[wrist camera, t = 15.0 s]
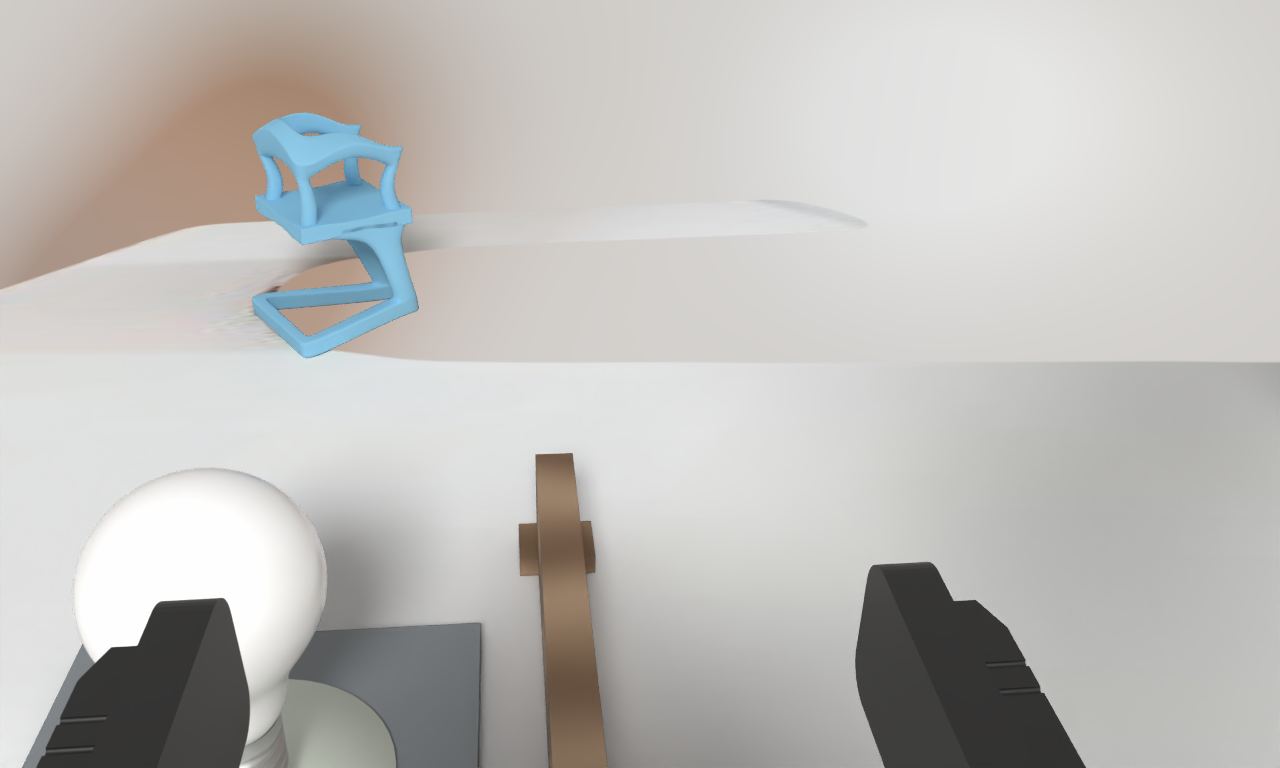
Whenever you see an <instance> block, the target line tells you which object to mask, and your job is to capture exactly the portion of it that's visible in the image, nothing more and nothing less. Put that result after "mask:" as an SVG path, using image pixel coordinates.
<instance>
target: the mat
mask: <svg viewBox="0 0 1280 768" xmlns="http://www.w3.org/2000/svg"><path fill="white" fill-rule="evenodd" d="M480 655H481V624H480V623H466V624H447V625H428V626H409V627H390V628H371V629H352V630H333V631H316V632H315V634H314V636H313V638H312V640H311V641H310V643H309V645H308V647H307V648H306V650H305V651H304V653H303V654H302V656H301V657H300V659H299V660H298V661H297V663H296V664H295V665H294V667H293V668H292V669H291V671H290V673H289V681H288V691H287V697H286V701H285V704H284V707H283V709H282V711H281V713H282V721H283V725H284V732H285V740H286V743H287V750H288V753H289V760H290V768H478V750H479V703H480ZM94 664H95V663H94V661H93V660H92V659H91V657H90V656H89V654H88V652H87V651H86V649H85V647H84V645H83V644H82V646H81V648H80V650H79V652H78V654H77V656H76V658H75V660H74V662H73V665H72V667H71V669H70V671H69V673H68V675H67V677H66V679H65V681H64V683H63V685H62V687H61V689H60V691H59V693H58V695H57V697H56V699H55V701H54V703H53V706H52V708H51V710H50V712H49V714H48V716H47V718H46V720H45V722H44V724H43V726H42V728H41V730H40V732H39V734H38V736H37V738H36V740H35V742H34V744H33V746H32V749H31V751H30V753H29V755H28V757H27V759H26V761H25V763H24V765H23V767H22V768H36V767H37V765H38V763H39V761H40V759H41V756H45V753H46V749H45V748H46V746H47V744H48V742H49V740H50V737H51V735H52V733H53V731H54V729H55V727H56V725H59V724H60V716H61V714H62V712H63V710H64V708H65V706H66V704H67V702H68V700H69V697H70V695H71V693H72V691H73V689H74V687H75V685H76V683H77V681H78V680H79V679H80V678H81V677H82V676H83V675H84V674H85V673H86V672H87V671H88V670H89V669H90V668H91V667H92V666H93V665H94Z"/></svg>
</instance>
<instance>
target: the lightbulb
mask: <svg viewBox="0 0 1280 768" xmlns="http://www.w3.org/2000/svg"><path fill="white" fill-rule="evenodd" d="M327 581H328V577H327V564H326V558H325V553H324V550H323V546H322V543H321V541H320V538H319V536H318V533H317V531H316V529H315V527H314V526H313V524H312V522H311V521H310V519H309V518H308V516H307V515H306V514H305V512H304V511H303V510H302V509H301V507H300V506H299V505H298V504H297V503H296V502H295V501H294V500H293V499H292V498H291V497H289V496H288V495H287V494H286V493H285V492H283V491H282V490H281V489H279V488H278V487H276V486H274V485H273V484H271V483H269V482H267V481H265V480H263V479H261V478H259V477H256V476H254V475H251V474H248V473H244V472H241V471H236V470H231V469H224V468H194V469H186V470H181V471H176V472H173V473H169V474H166V475H163V476H160V477H157V478H155V479H153V480H150V481H148V482H146V483H144V484H142V485H141V486H139V487H137V488H135V489H134V490H132V491H131V492H129V493H128V494H126V495H125V496H124V497H123V498H121V499H120V500H119V501H118V502H116V503H115V504H114V505H113V506H112V507H111V508H110V509H109V510H108V511H107V512H106V513H105V514H104V515H103V517H102V518H101V519H100V520H99V522H98V523H97V524H96V526H95V527H94V528H93V530H92V531H91V533H90V535H89V536H88V538H87V540H86V542H85V544H84V546H83V548H82V551H81V553H80V556H79V559H78V562H77V565H76V569H75V573H74V579H73V587H72V605H73V614H74V619H75V623H76V627H77V630H78V633H79V636H80V638H81V641H82V643H83V645H84V647H85V649H86V651H87V652H88V654H89V656H90V657H91V659H92V660H93V661H94V663H96V662H97V661H98V660H99V659H100V658H101V657H102V656H103V655H104V654H105V653H106V652H107V651H108V650H109V649H110V648H111V647H124V646H137V645H138V643H139V640H140V638H141V636H142V633H143V631H144V629H145V626H146V624H147V622H148V619H149V617H150V615H151V612H152V610H153V608H154V607H155V605H156V604H157V603H158V602H160V601H171V600H190V599H209V598H224V599H225V600H226V601H227V602H228V605H229V607H230V611H231V614H232V619H233V623H234V627H235V632H236V636H237V640H238V644H239V649H240V653H241V657H242V662H243V666H244V670H245V674H246V679H247V683H248V688H249V695H250V721H249V730H248V736H247V741H246V745H245V748H244V752H243V755H242V759H241V763H240V766H239V768H290V760H289V753H288V750H287V743H286V740H285V732H284V725H283V721H282V713H281V711H282V709H283V707H284V704H285V701H286V697H287V691H288V681H289V673H290V671H291V669H292V668H293V667H294V665H295V664H296V663H297V661H298V660H299V659H300V657H301V656H302V654H303V653H304V651H305V650H306V648H307V647H308V645H309V643H310V641H311V640H312V638H313V636H314V634H315V632H316V630H317V627H318V625H319V622H320V620H321V617H322V614H323V610H324V606H325V601H326V595H327Z"/></svg>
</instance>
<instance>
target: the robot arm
mask: <svg viewBox="0 0 1280 768" xmlns="http://www.w3.org/2000/svg"><path fill="white" fill-rule="evenodd" d="M855 667H856V679H857V686H858V691H859V696H860V700H861V703H862V706H863V708H864V711H865V714H866V717H867V719H868V722H869V725H870V728H871V731H872V733H873V736H874V739H875V742H876V744H877V747H878V750H879V753H880V755H881V758H882V761H883V764H884V766H885V768H1086V767H1085V765H1084V764H1083V762H1082V760H1081V758H1080V756H1079V755H1078V753H1077V751H1076V749H1075V747H1074V746H1073V744H1072V742H1071V740H1070V739H1069V737H1068V735H1067V733H1066V731H1065V730H1064V728H1063V726H1062V724H1061V722H1060V721H1059V719H1058V717H1057V715H1056V714H1055V712H1054V710H1053V708H1052V706H1051V705H1050V703H1049V701H1048V699H1047V697H1046V696H1045V694H1044V693H1041V691H1040V685H1039V683H1038V681H1037V680H1036V678H1035V676H1034V674H1033V672H1032V671H1031V669H1030V667H1029V666H1026V664H1025V658H1024V656H1023V655H1022V653H1021V651H1020V649H1019V648H1018V646H1017V644H1016V642H1015V640H1014V639H1013V637H1012V635H1011V633H1010V631H1009V630H1008V628H1007V627H1006V626H1005V625H1004V624H1003V623H1002V622H1000V621H999V620H998V619H997V618H996V617H995V616H993V615H992V614H991V613H990V612H989V611H988V610H987V609H985V608H984V607H983V606H982V605H981V604H980V603H978V602H977V601H976V600H968V601H953V599H952V597H951V595H950V593H949V591H948V589H947V587H946V585H945V583H944V581H943V579H942V578H941V576H940V574H939V572H938V570H937V568H936V567H935V566H934V565H933V564H932V563H930V562H920V563H901V564H883V565H873V566H872V567H871V569H870V570H869V573H868V578H867V584H866V590H865V597H864V603H863V609H862V616H861V622H860V629H859V635H858V641H857V648H856V659H855ZM249 721H250V695H249V688H248V683H247V679H246V674H245V670H244V666H243V662H242V657H241V653H240V649H239V644H238V640H237V636H236V632H235V627H234V623H233V619H232V614H231V611H230V607H229V605H228V602H227V601H226V600H225V599H224V598H209V599H190V600H171V601H160V602H158V603H157V604H156V605H155V607H154V608H153V610H152V612H151V615H150V617H149V619H148V622H147V624H146V626H145V629H144V631H143V633H142V636H141V638H140V640H139V643H138V645H137V646H124V647H111V648H110V649H109V650H108V651H107V652H106V653H105V654H104V655H103V656H102V657H101V658H100V659H99V660H98V661H97V662H96V663H95V664H94V665H93V666H92V667H91V668H90V669H89V670H88V671H87V672H86V673H85V674H84V675H83V676H82V677H81V678H80V679H79V680H78V681H77V683H76V685H75V687H74V689H73V691H72V693H71V695H70V697H69V700H68V702H67V704H66V706H65V708H64V710H63V712H62V714H61V716H60V724H59V725H56V727H55V729H54V731H53V733H52V735H51V737H50V740H49V742H48V744H47V746H46V748H45V749H46V753H45V756H41V759H40V761H39V763H38V765H37V767H36V768H239V766H240V763H241V759H242V755H243V752H244V748H245V745H246V741H247V736H248V730H249Z"/></svg>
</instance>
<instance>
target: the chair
mask: <svg viewBox="0 0 1280 768" xmlns="http://www.w3.org/2000/svg"><path fill="white" fill-rule="evenodd" d="M360 129H361V125H349V124H348V125H347V124H341V123H338V122H335V121H332V120H330V119H328V118H325V117H322V116H319V115H316V114H311V113H296V114H291V115H287V116H284V117H281V118H278V119H275V120H273V121H271V122H269V123H268V124H266V125H264V126H263V127H261V128H260V129H258V130H257V131H256V132H255V133H254V134H253V140H254V143H255V145H256V148H257V151H258V154H259V156H260V159H261V161H262V163H263V165H264V168H265V171H266V174H267V190H266V194H264V195H258V196H255V201H256V208H257V211H258V212H259V213H261V214H262V215H263V216H265V217H266V218H268V219H271V220H273V221H275V222H276V223H277V224H279V225H280V226H281V227H283V228H284V229H285V230H286V231H287V232H288V233H289V234H290V235H291V236H292V237H293V238H294V239H295V240H297V241H298V242H299V243H301V244H302V245H305V244H310V243H315V242H320V241H325V240H328V239H340V240H347V241H348V242H349V243H350V245H351V246H352V248H353V249H354V251H355V252H356V254H357V256H358V257H359V259H360V260H361V262H362V264H363V265H364V267H365V268H366V270H367V272H368V274H369V275H370V277H371V278H372V282H370V283H363V284H354V285H344V286H333V287H323V288H313V289H302V290H291V291H282V292H273V293H267V294H261V295H257V296H254V297H253V298H252V303H253V308H254V312H255V314H256V315H258V316H259V317H260V318H261V319H262V320H263V321H264V322H265V323H266V324H267V325H268V326H270V327H271V328H272V329H273V330H274V331H275V332H276V333H277V334H278V335H279V336H281V337H282V338H283V339H284V340H285V341H286V342H287V343H288V344H289V345H290V346H291V347H293V348H294V349H295V350H296V351H297V352H298V353H299V354H300V355H301V356H303V357H306V358H309V357H313V356H316V355H319V354H321V353H323V352H326V351H328V350H330V349H333V348H335V347H337V346H339V345H341V344H343V343H345V342H348V341H350V340H352V339H354V338H356V337H358V336H360V335H362V334H364V333H366V332H369V331H371V330H373V329H375V328H377V327H379V326H381V325H384V324H386V323H388V322H390V321H392V320H395V319H397V318H400V317H402V316H405V315H407V314H410V313H412V312H415V311H417V310H418V309H419V306H418V301H417V296H416V293H415V290H414V287H413V284H412V281H411V278H410V274H409V271H408V268H407V265H406V261H405V258H404V253H403V248H402V242H401V235H402V231H403V229H404V227H405V225H406V224H409V223H412V210H411V208H410V207H408V206H407V205H405V204H403V203H402V202H400V201H398V199H397V196H396V193H395V189H394V181H395V175H396V170H397V167H398V164H399V160H400V156H401V153H402V149H403V147H402V146H386V145H382V144H379V143H376V142H374V141H371V140H369V139H366V138H364V137H360V136H359V133H360ZM305 133H319V134H322V135H315V136H304V135H302V134H305ZM272 156H273V157H276V158H278V159H280V160H281V161H283V162H284V163H285V164H286V165H287V166H288V167H289V169H290V170H291V171H292V173H293V174H294V176H295V178H296V180H297V184H298V188H299V190H298V191H285V192H282V190H283V180H282V176H281V173H280V171H279V168H278V166H277V164H276V163H275V161H274V159H273V157H272ZM359 157H360V158H368V159H372V160H376V161H379V162H382V163H384V164H386V167H385V169H384V172H383V175H382V178H381V182H380V191H379V190H378V189H376V188H375V187H374V186H372V185H371V184H370V183H368V182H366V181H365V180H363V179H361V178H360V174H359V168H358V159H357V158H359ZM341 160H344V173H345V179H346V181H340V182H336V183H332V184H328V185H325V186H321V187H315V188H312V185H311V183H310V180H309V179H310V178H311V177H312V176H313V175H315V174H316V173H318V172H320V171H321V170H323V169H325V168H326V167H328V166H330V165H332V164H334V163H336V162H339V161H341ZM385 299H388V300H386V301H384V302H381V303H380V304H377V305H375V306H373V307H371V308H369V309H367V310H365V311H363V312H360V313H358V314H356V315H354V316H352V317H350V318H348V319H346V320H344V321H342V322H340V323H338V324H336V325H334V326H331V327H330V328H327V329H325V330H323V331H321V332H319V333H317V334H314V335H312V336H306V335H304V334H303V333H302V332H301V331H300V330H299V329H297V327H296V326H294V325H293V324H292V323H291V322H290V321H289V320H288V319H286V318H285V317H284V316H283V315H282V314H281V313H280V312H279V311H278V310H280V309H291V308H303V307H313V306H326V305H338V304H349V303H359V302H368V301H378V300H385Z"/></svg>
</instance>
